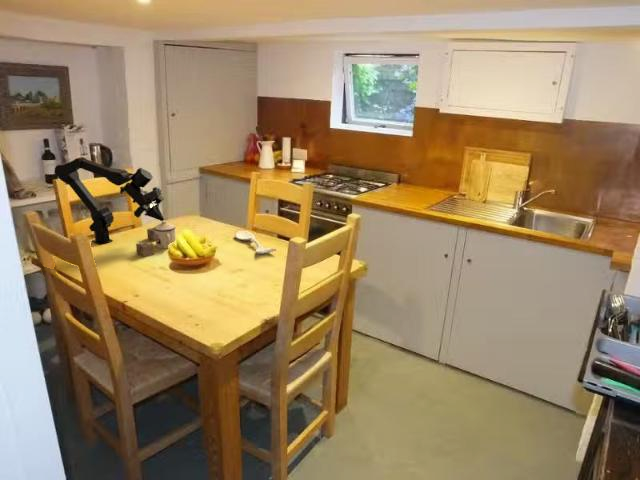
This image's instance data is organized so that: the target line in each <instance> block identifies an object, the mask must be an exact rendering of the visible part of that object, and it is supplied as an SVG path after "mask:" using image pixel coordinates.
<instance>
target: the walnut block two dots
mask: <svg viewBox="0 0 640 480" xmlns="http://www.w3.org/2000/svg"><path fill="white" fill-rule="evenodd" d="M135 248H136V255H137V256H138V257H141V258H144V259H145V258H149V257H151V256H154V255H155V245H154V243H152V242H149V241H147V240H146V241H142V242H139V243H136V244H135Z"/></svg>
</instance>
